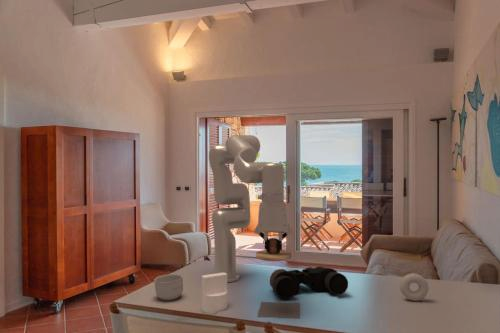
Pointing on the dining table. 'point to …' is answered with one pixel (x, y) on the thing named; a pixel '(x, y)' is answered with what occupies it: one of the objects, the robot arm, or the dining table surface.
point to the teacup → (169, 286)
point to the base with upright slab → (214, 292)
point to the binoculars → (307, 281)
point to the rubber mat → (279, 310)
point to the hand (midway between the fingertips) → (273, 251)
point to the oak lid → (273, 252)
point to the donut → (414, 294)
